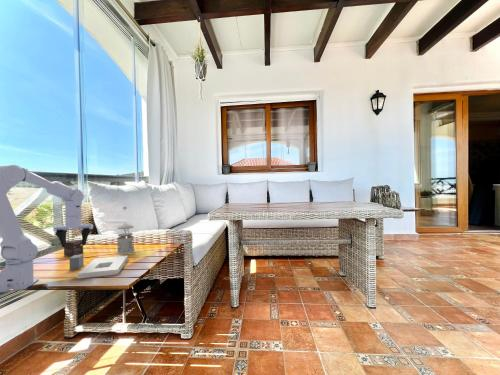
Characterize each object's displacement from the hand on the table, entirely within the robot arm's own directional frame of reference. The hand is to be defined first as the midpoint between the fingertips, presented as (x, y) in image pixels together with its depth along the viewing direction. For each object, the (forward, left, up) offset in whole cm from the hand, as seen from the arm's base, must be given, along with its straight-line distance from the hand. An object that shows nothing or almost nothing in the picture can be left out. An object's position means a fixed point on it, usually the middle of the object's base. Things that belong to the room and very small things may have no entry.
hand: (74, 245), depth 106 cm
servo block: (-1, -1, -10) cm, 10 cm away
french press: (+19, -17, -10) cm, 27 cm away
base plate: (-7, -14, -9) cm, 18 cm away
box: (+23, +9, -10) cm, 26 cm away
